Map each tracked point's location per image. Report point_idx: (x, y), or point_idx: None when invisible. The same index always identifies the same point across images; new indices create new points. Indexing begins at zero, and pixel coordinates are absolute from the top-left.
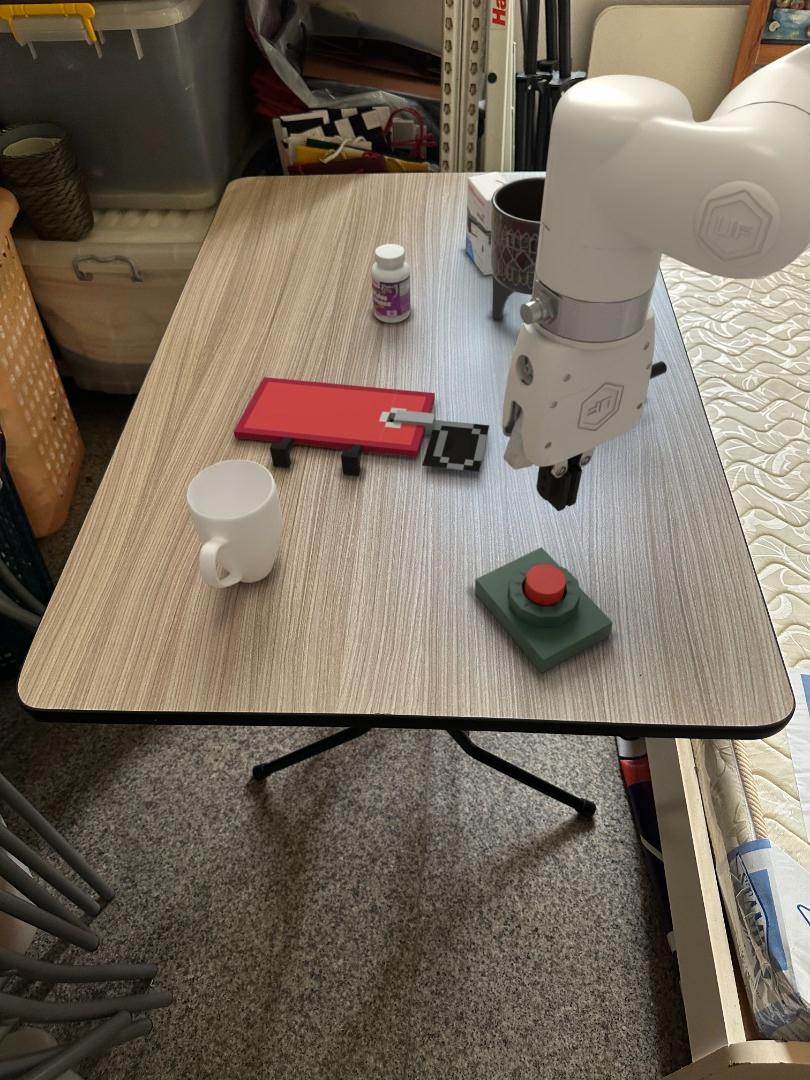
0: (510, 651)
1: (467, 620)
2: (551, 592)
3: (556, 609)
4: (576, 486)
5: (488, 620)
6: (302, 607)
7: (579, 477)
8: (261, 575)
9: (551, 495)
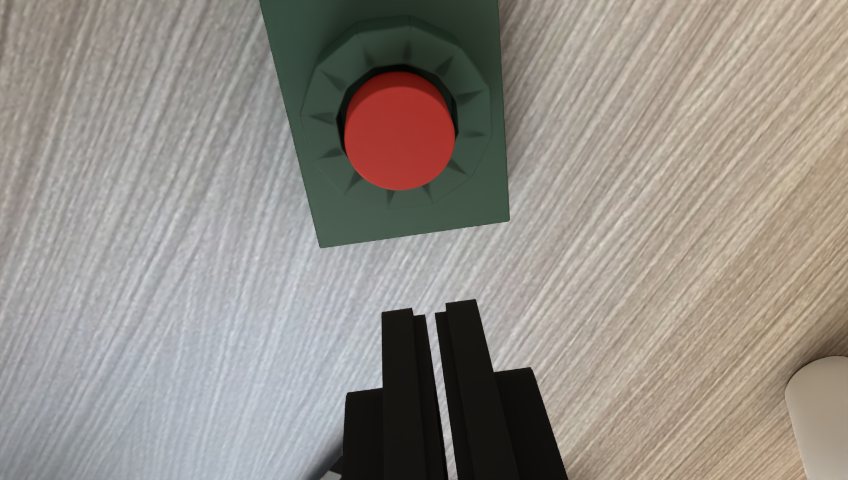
0: (514, 20)
1: (553, 139)
2: (410, 92)
3: (403, 49)
4: (403, 402)
5: (512, 121)
6: (808, 282)
7: (394, 458)
8: (839, 364)
9: (521, 386)
